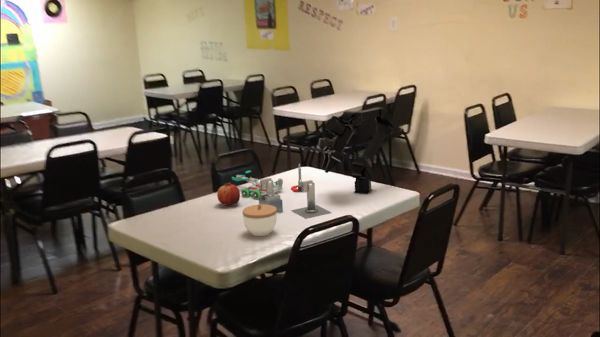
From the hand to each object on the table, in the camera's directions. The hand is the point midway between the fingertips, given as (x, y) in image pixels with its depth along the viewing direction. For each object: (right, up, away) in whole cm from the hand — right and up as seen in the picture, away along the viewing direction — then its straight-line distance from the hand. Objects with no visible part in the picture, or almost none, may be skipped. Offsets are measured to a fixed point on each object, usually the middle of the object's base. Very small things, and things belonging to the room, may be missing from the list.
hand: (324, 170), depth 251 cm
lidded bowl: (-25, -23, -33) cm, 47 cm away
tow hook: (-10, -9, +21) cm, 25 cm away
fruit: (-41, -15, +1) cm, 43 cm away
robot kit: (-31, -10, +20) cm, 38 cm away
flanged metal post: (-6, -16, -11) cm, 21 cm away
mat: (-6, -17, -12) cm, 21 cm away
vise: (-22, -16, -7) cm, 28 cm away
